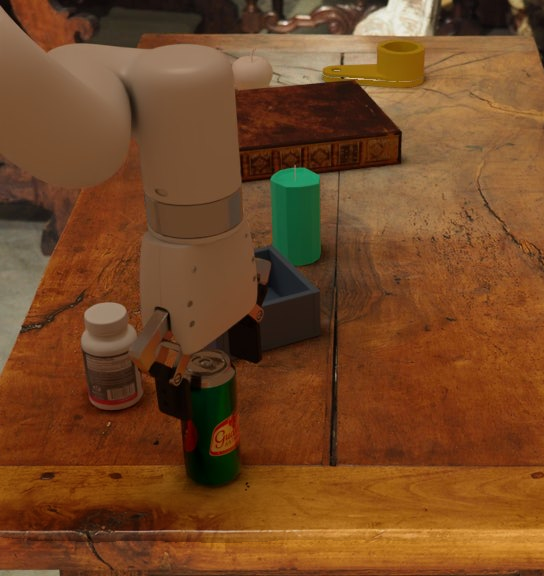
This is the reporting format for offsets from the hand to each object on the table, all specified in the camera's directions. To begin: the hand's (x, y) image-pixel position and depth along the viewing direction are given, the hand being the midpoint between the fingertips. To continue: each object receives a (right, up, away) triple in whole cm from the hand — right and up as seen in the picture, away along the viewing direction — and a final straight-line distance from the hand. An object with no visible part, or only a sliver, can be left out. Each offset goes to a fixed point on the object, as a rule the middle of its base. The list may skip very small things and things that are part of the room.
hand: (212, 385), depth 92 cm
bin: (0, +4, +27) cm, 27 cm away
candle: (+4, +12, +41) cm, 43 cm away
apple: (-8, +42, +91) cm, 101 cm away
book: (0, +30, +72) cm, 78 cm away
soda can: (-1, -8, +5) cm, 10 cm away
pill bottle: (-12, -3, +15) cm, 19 cm away
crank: (+13, +45, +99) cm, 110 cm away
